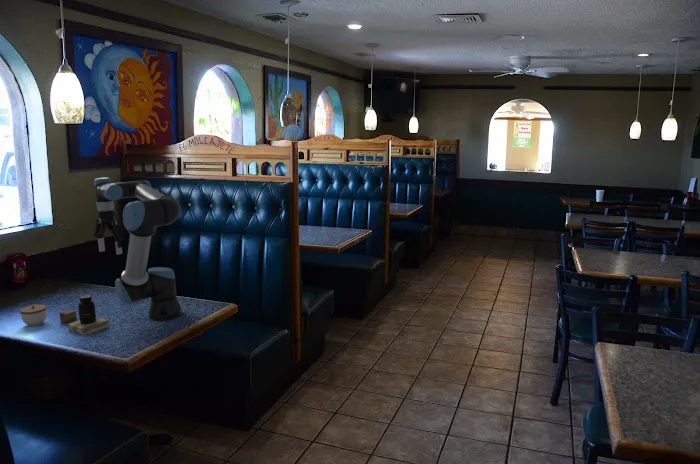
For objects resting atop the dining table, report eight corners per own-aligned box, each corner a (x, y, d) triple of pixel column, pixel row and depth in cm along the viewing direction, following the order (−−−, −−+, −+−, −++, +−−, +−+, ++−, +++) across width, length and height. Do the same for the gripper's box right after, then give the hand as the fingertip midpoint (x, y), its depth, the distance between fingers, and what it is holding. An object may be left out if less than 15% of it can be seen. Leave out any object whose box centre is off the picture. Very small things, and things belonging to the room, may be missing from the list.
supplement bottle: (85, 325, 248) (81, 299, 246) (77, 322, 252) (73, 297, 250) (99, 320, 254) (96, 295, 251) (91, 318, 258) (88, 293, 255)
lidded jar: (20, 323, 262) (17, 304, 260) (46, 318, 268) (43, 299, 266) (24, 330, 254) (21, 310, 252) (50, 324, 260) (47, 305, 258)
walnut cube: (77, 320, 264) (75, 310, 263) (67, 324, 260) (65, 314, 259) (70, 319, 267) (69, 309, 266) (60, 322, 263) (59, 312, 262)
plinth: (108, 326, 255) (108, 319, 255) (84, 335, 245) (83, 328, 245) (92, 322, 262) (92, 315, 261) (68, 330, 252) (67, 323, 251)
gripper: (129, 210, 267) (133, 253, 271) (97, 207, 280) (101, 248, 284) (115, 212, 261) (120, 257, 265) (83, 209, 274) (88, 251, 278)
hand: (110, 252), depth 275 cm, fingers open, 13 cm apart
